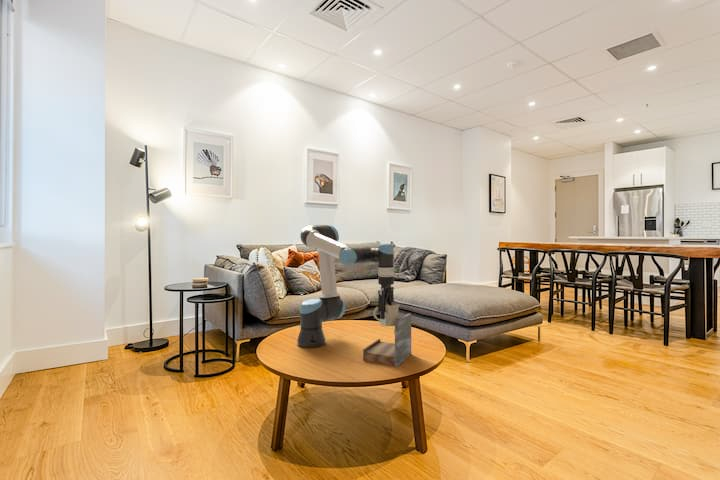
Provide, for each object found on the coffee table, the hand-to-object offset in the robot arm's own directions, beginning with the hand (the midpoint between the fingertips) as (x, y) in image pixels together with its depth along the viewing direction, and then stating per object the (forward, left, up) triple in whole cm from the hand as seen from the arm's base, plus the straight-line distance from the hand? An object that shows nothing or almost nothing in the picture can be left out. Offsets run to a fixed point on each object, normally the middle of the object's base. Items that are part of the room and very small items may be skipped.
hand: (386, 323), depth 171 cm
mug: (0, -1, 0) cm, 1 cm away
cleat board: (+1, 0, -16) cm, 16 cm away
